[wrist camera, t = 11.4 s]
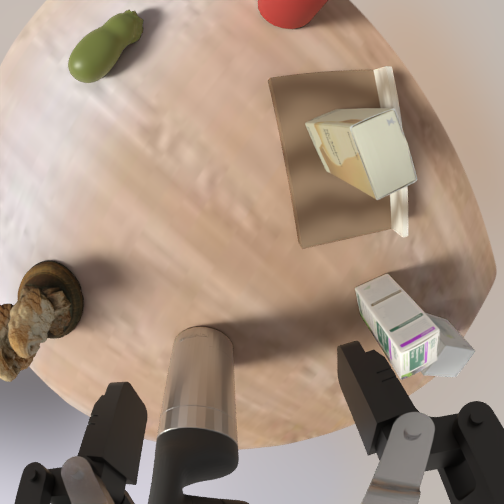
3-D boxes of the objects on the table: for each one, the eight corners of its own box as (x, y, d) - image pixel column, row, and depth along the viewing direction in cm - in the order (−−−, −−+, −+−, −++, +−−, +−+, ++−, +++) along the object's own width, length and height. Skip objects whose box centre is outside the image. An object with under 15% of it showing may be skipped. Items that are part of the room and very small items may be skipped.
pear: (52, 61, 20) (117, -5, 19) (70, 73, 25) (126, 15, 24) (82, 84, 22) (150, 15, 21) (97, 95, 27) (156, 34, 26)
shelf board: (391, 222, 36) (410, 235, 32) (298, 242, 37) (308, 259, 32) (373, 72, 28) (393, 66, 23) (267, 80, 28) (274, 72, 24)
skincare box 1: (303, 122, 29) (345, 122, 18) (337, 108, 28) (394, 103, 17) (326, 174, 31) (376, 203, 20) (359, 159, 31) (420, 181, 20)
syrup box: (353, 287, 40) (398, 355, 27) (388, 271, 40) (441, 331, 26) (359, 315, 42) (399, 382, 29) (392, 300, 42) (439, 361, 29)
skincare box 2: (447, 317, 45) (477, 351, 36) (429, 343, 48) (455, 378, 38) (415, 307, 43) (447, 345, 34) (395, 336, 45) (422, 377, 36)
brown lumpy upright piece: (59, 349, 42) (21, 419, 26) (12, 308, 38) (-37, 369, 22) (99, 294, 38) (48, 379, 22) (42, 241, 34) (-31, 305, 18)
